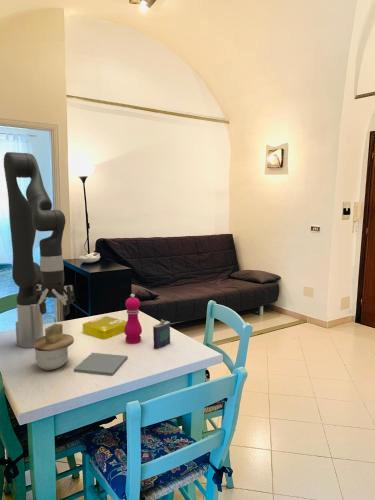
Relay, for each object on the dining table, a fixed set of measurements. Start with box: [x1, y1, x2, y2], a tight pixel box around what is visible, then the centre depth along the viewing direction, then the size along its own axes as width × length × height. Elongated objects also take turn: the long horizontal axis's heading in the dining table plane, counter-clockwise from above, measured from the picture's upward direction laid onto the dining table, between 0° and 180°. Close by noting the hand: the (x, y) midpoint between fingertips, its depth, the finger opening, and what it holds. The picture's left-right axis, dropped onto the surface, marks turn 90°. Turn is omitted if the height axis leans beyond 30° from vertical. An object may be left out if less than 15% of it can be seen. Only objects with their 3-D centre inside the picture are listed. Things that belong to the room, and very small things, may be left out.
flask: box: [152, 319, 171, 350], centre depth 149 cm, size 9×3×11 cm, turn 144°
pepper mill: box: [123, 293, 143, 345], centre depth 153 cm, size 7×7×20 cm
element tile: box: [82, 315, 127, 340], centre depth 166 cm, size 15×15×5 cm
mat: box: [73, 352, 129, 377], centre depth 132 cm, size 14×14×1 cm
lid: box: [34, 323, 75, 350], centre depth 131 cm, size 13×13×6 cm
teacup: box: [33, 346, 69, 371], centre depth 132 cm, size 14×11×8 cm
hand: (54, 314), depth 130 cm, fingers open, 8 cm apart
